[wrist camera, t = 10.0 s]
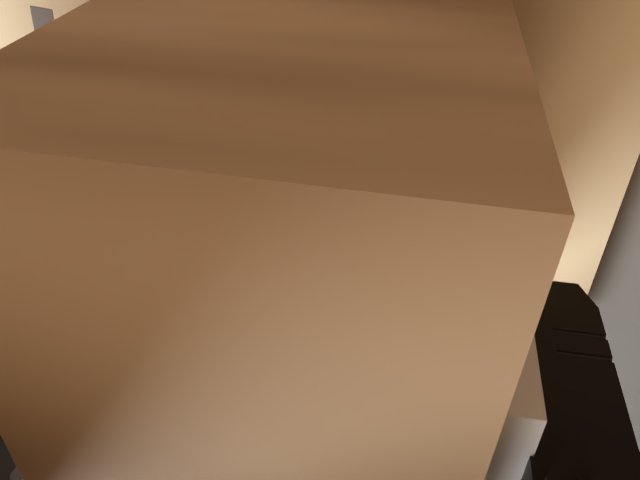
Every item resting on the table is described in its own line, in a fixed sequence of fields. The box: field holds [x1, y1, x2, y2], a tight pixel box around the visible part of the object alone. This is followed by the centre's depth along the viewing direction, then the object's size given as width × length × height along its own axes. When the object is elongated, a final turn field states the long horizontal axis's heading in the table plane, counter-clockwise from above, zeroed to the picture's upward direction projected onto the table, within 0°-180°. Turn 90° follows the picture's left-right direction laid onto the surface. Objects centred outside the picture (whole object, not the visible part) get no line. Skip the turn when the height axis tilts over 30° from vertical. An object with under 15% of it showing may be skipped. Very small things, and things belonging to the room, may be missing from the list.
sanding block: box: [0, 0, 575, 480], centre depth 10 cm, size 9×5×8 cm, turn 179°
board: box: [0, 0, 640, 295], centre depth 15 cm, size 24×11×2 cm, turn 90°
